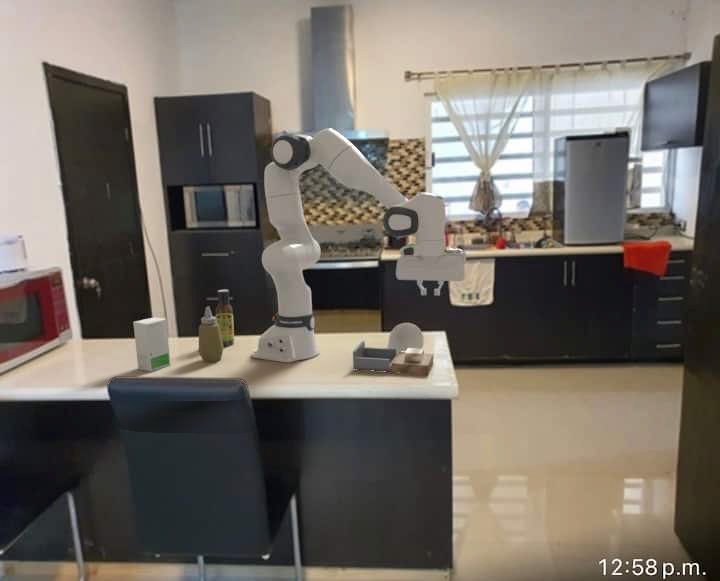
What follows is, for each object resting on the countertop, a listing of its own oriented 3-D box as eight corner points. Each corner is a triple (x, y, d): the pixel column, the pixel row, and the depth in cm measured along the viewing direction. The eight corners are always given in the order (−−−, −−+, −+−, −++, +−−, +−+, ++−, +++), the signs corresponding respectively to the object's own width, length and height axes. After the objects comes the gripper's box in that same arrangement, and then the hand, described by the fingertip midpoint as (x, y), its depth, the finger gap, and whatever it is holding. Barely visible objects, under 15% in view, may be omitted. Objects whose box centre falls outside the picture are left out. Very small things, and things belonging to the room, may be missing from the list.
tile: (404, 360, 171) (404, 352, 171) (407, 355, 176) (407, 347, 175) (421, 361, 170) (421, 353, 169) (423, 356, 174) (423, 348, 174)
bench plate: (391, 372, 170) (391, 363, 169) (398, 361, 180) (398, 352, 180) (428, 375, 167) (428, 365, 166) (433, 363, 177) (433, 354, 177)
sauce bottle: (216, 347, 200) (211, 292, 196) (217, 342, 206) (213, 289, 202) (234, 346, 201) (230, 291, 197) (235, 341, 207) (231, 288, 203)
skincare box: (150, 372, 176) (145, 324, 173) (136, 369, 179) (131, 322, 176) (171, 364, 183) (167, 318, 180) (158, 361, 186) (153, 316, 183)
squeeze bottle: (229, 357, 189) (225, 305, 185) (213, 365, 181) (209, 310, 178) (210, 354, 192) (206, 303, 188) (194, 362, 185) (189, 308, 181)
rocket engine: (393, 314, 201) (403, 315, 183) (418, 334, 202) (430, 337, 184) (374, 340, 200) (381, 344, 182) (399, 359, 201) (409, 365, 183)
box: (353, 370, 173) (352, 351, 172) (362, 358, 183) (362, 341, 182) (391, 372, 170) (391, 353, 169) (398, 361, 180) (398, 343, 179)
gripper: (467, 247, 165) (466, 293, 168) (398, 247, 170) (399, 291, 173) (465, 250, 159) (465, 298, 162) (394, 249, 164) (395, 296, 167)
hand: (430, 295), depth 167 cm, fingers open, 3 cm apart
